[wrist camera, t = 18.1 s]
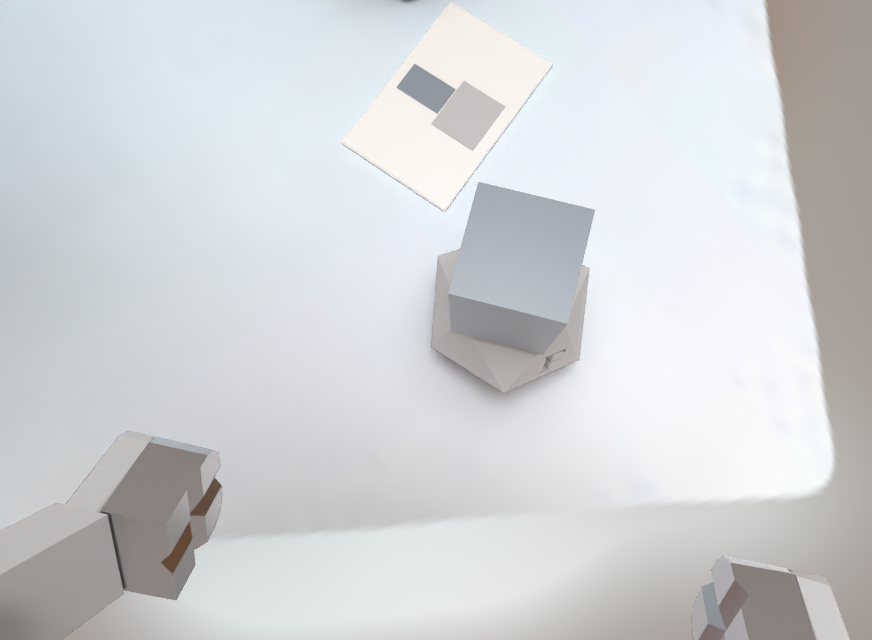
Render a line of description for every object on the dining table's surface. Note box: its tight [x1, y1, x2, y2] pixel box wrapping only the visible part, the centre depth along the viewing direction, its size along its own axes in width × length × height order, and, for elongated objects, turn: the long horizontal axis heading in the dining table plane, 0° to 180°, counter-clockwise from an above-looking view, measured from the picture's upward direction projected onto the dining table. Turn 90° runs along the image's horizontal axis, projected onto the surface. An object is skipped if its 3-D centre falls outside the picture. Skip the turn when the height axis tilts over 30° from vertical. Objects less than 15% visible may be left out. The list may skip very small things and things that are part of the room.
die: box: [431, 249, 589, 393], centre depth 38 cm, size 8×9×10 cm
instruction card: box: [342, 2, 552, 212], centre depth 45 cm, size 12×8×1 cm, turn 145°
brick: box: [448, 182, 595, 355], centre depth 30 cm, size 5×5×8 cm
